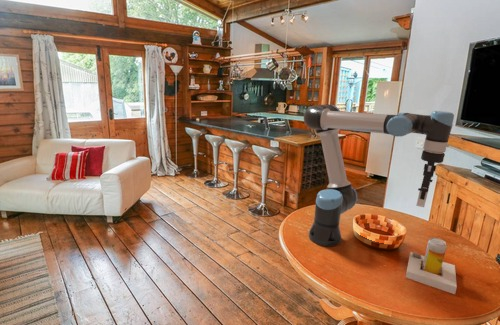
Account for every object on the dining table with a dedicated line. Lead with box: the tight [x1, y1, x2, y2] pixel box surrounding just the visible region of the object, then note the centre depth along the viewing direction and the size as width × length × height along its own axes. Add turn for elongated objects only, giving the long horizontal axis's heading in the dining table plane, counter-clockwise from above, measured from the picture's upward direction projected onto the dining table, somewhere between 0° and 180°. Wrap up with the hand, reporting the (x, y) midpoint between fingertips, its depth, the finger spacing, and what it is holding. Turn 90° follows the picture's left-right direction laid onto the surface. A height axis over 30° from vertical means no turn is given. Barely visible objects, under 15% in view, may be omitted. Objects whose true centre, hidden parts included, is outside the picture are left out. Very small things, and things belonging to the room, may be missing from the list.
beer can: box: [421, 237, 448, 276], centre depth 112 cm, size 6×6×15 cm
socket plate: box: [405, 251, 458, 295], centre depth 114 cm, size 16×16×4 cm
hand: (421, 201), depth 118 cm, fingers open, 13 cm apart
